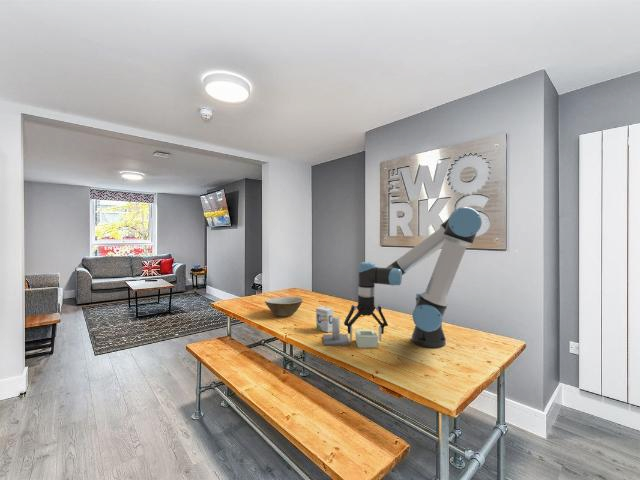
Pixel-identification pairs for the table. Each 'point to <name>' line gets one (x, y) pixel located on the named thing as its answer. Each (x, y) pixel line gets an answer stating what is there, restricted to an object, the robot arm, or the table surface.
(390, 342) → the table surface
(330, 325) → the ink box
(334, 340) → the post
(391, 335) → the table surface
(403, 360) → the table surface
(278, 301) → the bowl
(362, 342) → the collar
